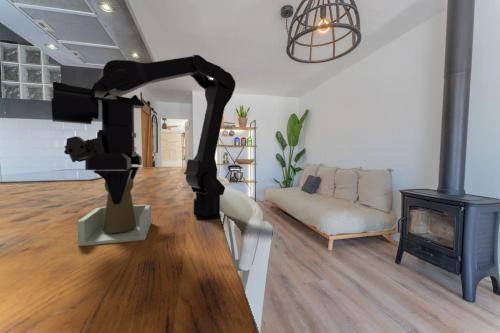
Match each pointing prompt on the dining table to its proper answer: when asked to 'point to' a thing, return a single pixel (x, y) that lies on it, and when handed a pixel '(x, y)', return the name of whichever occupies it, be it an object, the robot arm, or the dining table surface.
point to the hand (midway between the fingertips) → (119, 201)
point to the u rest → (94, 234)
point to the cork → (120, 212)
